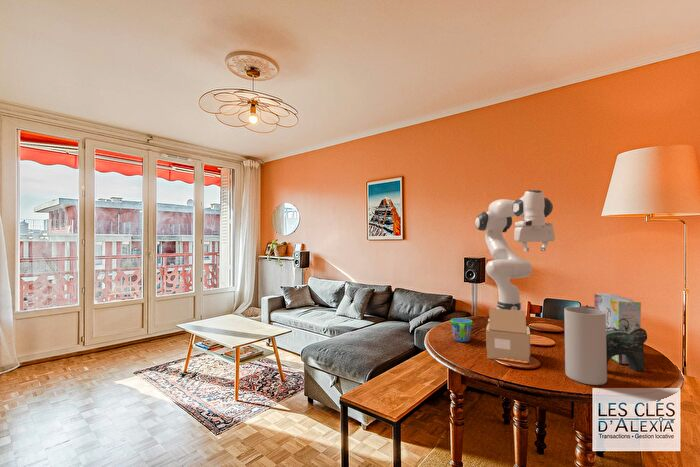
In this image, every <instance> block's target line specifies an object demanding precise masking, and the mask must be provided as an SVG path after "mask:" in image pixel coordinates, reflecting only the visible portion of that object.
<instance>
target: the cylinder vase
mask: <svg viewBox="0 0 700 467" xmlns="http://www.w3.org/2000/svg"><path fill="white" fill-rule="evenodd" d="M563 314H564V315H563V316H564V321H563V322H564V370H565V372H564V373H565V375H566V377H567V378H569V379H570V380H572V381H574V382H577V383H580V384H583V385H591V386H601V385H605V384H606V383H607V382H608V366H607V352H606V312H604V311H602V310H598V309H592V308H584V307H579V306H567V307H564V312H563Z"/></svg>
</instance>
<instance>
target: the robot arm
mask: <svg viewBox="0 0 700 467" xmlns="http://www.w3.org/2000/svg"><path fill="white" fill-rule="evenodd" d="M553 209H554V205H553V203H552V201H551V200H550V199H549V198H547V197H545V195H544V192H543V191H542V190H538V189H530V190H529V189H528V190H525V192H524V194H523V195H522V196H521V197H520V198H518V199H516V200H514V199H513V200H512V199H506V198H501V199H496V200H493V201H491V203H490V204H489V205H488V209H487V210H488V211H482V212H481V213H480V214H478V215H477V216H476V218H475V221H474V222H475V223H474V224H475V228H476V229H477V230H479V231H482V232H483V231H487V232H486V233H485V235H484V239H485V243H486V246H487V248H488V251H489V253H490V255H491V257H492V258H493V259H492V260H488V262H487V263H486V265H485V271H486V274H487V276H488V277H490V278H491V279H492V280H493V281H494V282H495V284H496V287H497V292H498V301H497V304H496V308H495V309H507V310H519V311H522V310H521V306H522V304H521V302H520V300H521V296H520V294H521V292H520V289H519V288H518V286H517V285H515V284H513V283H511V279H521V278H527V277H529V276H530V275H531V274H532V273H533V272H532V271H533V267H532V266H533V265H532V264H531V262H530V261H528V260H526V259H524V258H522V257H520V256H518V254H516V253H515V252H514V251H513V250H512V249H511V248H510V246H509V244H508V243H507V240H506V239H505V237H504V235H503V233H507V232H508V230H509V229H510V228H511V226H512V224H513V218H512V217H519V218H524V219H521V220H519V221H516V222H515V223H514V226H515V228H514V233H513V236H514V237H513V239H514V241H515V242H516V243H521V246H522V247H523V252H530V248H529V247H528V246H527V244H528V243H531V242H532V243H535V242H541V243H542V246H540V252H541V251H542V252H546V251H547V249H546V248H547V246H548V245H549V242H555V238H556V237H555V230H554V226H553V224H552V223H551V222H546V218H547V217H549V216H550V215H551V213H552V212H553ZM487 321H488V322H489V318H488V319H487Z"/></svg>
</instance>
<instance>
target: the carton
mask: <svg viewBox="0 0 700 467" xmlns="http://www.w3.org/2000/svg"><path fill="white" fill-rule="evenodd" d="M485 337H486V338H485V345H486V347H485V349H486V350H485V351H486V354H487V355H486V358H487V359H490V360H495V359H494V358H507V359H514V360H521V361H527V362H529V363H530V357H531V331H530V326H528V325H526V333H519V332H510V331H500V330H491V329H489V322H488V323H487V325H486V329H485Z"/></svg>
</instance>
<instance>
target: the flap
mask: <svg viewBox="0 0 700 467" xmlns="http://www.w3.org/2000/svg"><path fill="white" fill-rule="evenodd" d="M488 309H489V311H488V312H489V313H488V314H489V318H488V319H489V321H488V323H489V329H491V330H500V331H510V332H519V333H526V326H527V320H526V319H527V318H526V316H527V315H526V312H527V311H526V310H521V311H519V310H507V309H496V308H494V307H492V308H491V307H489V308H488Z"/></svg>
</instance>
